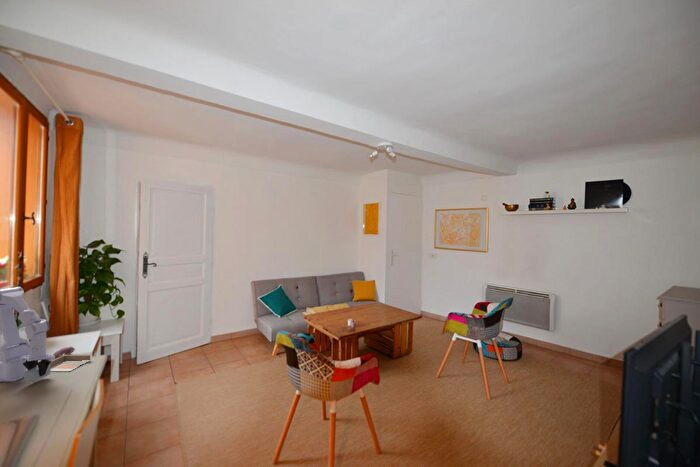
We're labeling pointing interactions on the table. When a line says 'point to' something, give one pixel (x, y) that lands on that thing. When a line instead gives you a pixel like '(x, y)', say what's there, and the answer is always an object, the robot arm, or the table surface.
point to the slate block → (34, 375)
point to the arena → (59, 366)
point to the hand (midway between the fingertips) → (37, 375)
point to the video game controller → (64, 352)
